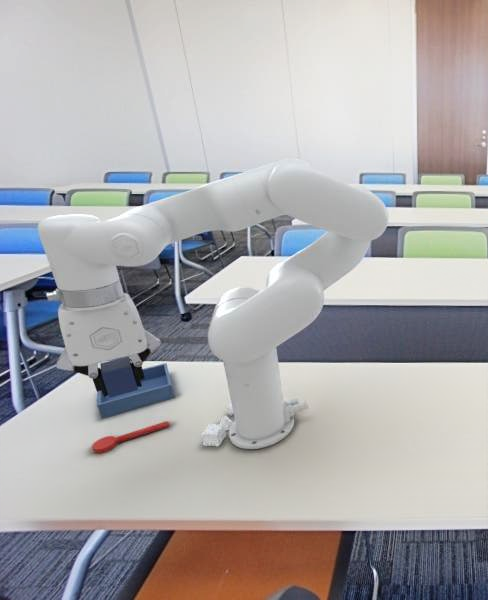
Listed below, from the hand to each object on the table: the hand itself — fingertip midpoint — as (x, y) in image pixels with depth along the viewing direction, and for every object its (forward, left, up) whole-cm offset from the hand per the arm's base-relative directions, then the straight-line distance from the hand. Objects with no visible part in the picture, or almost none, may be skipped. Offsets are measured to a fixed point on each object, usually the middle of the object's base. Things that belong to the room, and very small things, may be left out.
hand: (122, 386), depth 71 cm
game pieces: (-14, +1, -16) cm, 21 cm away
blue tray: (0, -22, -15) cm, 27 cm away
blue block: (0, 0, 0) cm, 0 cm away
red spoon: (+2, -6, -15) cm, 17 cm away
